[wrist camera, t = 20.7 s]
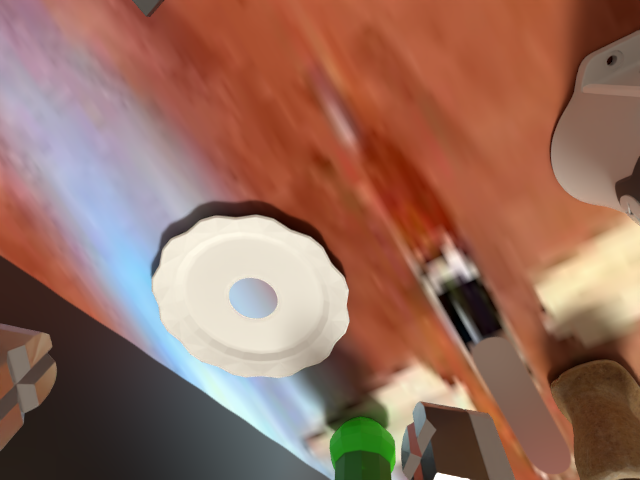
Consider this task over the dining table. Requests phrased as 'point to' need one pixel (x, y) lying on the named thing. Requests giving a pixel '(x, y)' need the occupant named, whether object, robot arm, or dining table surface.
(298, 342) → the plate
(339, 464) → the plastic bottle
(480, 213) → the dining table surface
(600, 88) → the robot arm
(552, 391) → the stone cup
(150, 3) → the collar holder
